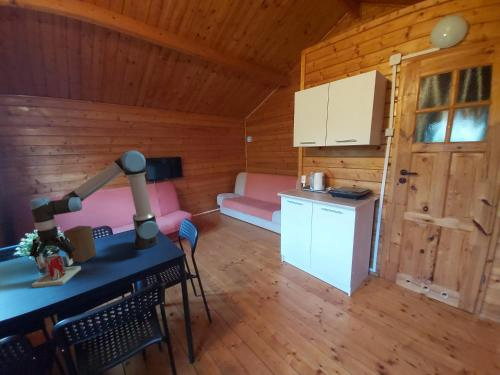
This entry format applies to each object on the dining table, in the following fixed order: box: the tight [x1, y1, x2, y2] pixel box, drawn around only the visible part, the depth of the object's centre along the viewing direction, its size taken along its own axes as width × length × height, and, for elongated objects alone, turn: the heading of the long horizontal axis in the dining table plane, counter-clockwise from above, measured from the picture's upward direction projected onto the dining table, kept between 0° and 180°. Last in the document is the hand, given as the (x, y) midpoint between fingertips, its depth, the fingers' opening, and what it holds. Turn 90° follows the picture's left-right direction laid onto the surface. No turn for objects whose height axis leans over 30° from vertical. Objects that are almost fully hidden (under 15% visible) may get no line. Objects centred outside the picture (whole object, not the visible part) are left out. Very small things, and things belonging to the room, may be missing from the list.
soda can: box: [44, 253, 66, 280], centre depth 113 cm, size 7×7×12 cm
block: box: [63, 225, 98, 263], centre depth 132 cm, size 10×10×20 cm
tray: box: [31, 265, 82, 289], centre depth 114 cm, size 14×14×2 cm
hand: (56, 266), depth 113 cm, fingers open, 13 cm apart
